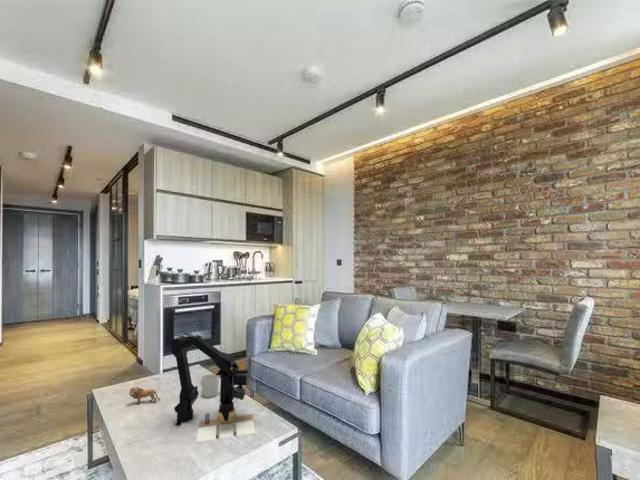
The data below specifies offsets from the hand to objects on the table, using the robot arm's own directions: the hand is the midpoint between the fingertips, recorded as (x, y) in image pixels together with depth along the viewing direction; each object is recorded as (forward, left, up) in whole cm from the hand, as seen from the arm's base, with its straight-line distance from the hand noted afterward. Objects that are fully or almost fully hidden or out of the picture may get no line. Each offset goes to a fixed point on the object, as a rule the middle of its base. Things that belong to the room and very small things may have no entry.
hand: (226, 418), depth 147 cm
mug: (-10, +34, -3) cm, 36 cm away
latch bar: (0, 0, -1) cm, 1 cm away
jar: (+1, +21, -2) cm, 21 cm away
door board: (0, -6, -2) cm, 6 cm away
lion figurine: (-42, +32, -3) cm, 53 cm away
